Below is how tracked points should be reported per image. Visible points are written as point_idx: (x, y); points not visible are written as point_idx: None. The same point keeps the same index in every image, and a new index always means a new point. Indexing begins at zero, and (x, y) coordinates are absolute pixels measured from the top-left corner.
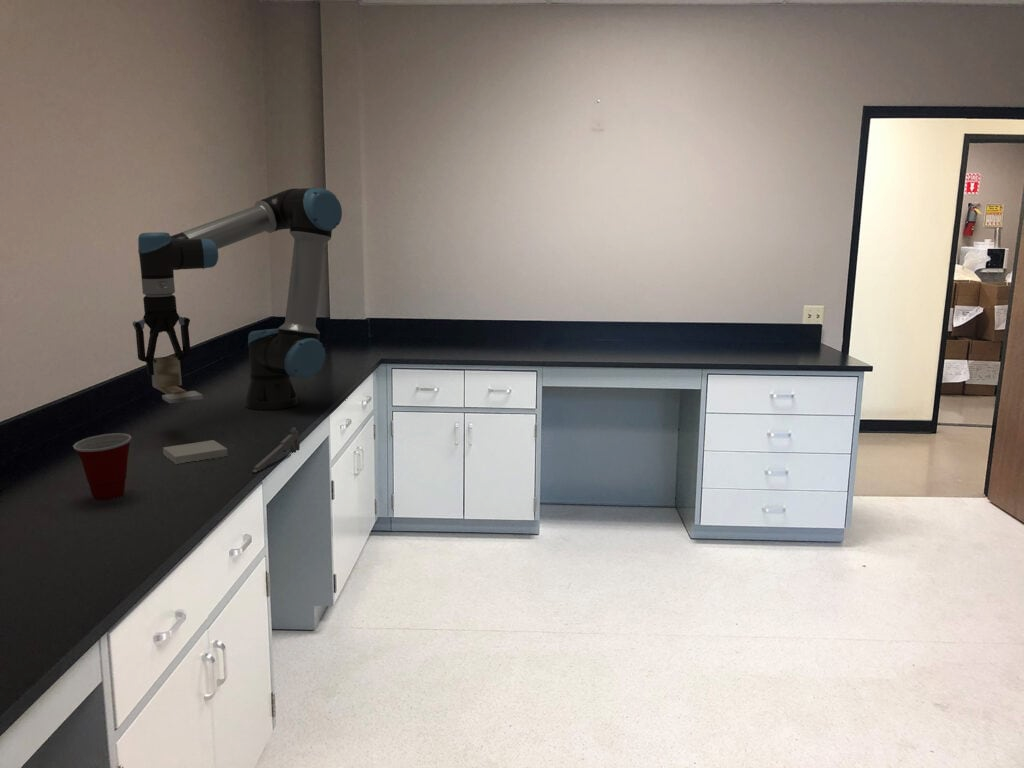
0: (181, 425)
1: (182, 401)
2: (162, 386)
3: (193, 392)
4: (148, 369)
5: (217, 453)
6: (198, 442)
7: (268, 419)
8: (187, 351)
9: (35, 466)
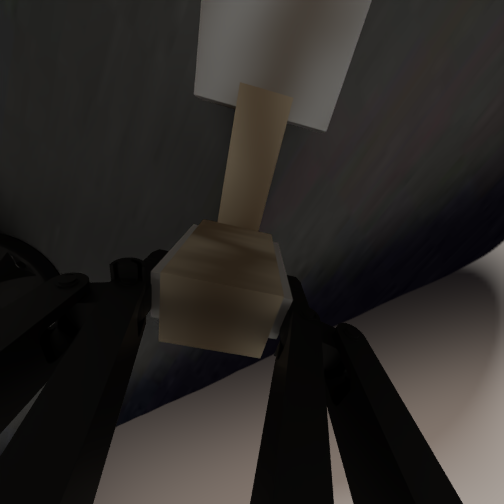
0: None
1: None
2: (261, 233)
3: (215, 55)
4: (303, 294)
5: None
6: None
7: (42, 183)
8: (56, 295)
9: (501, 201)
